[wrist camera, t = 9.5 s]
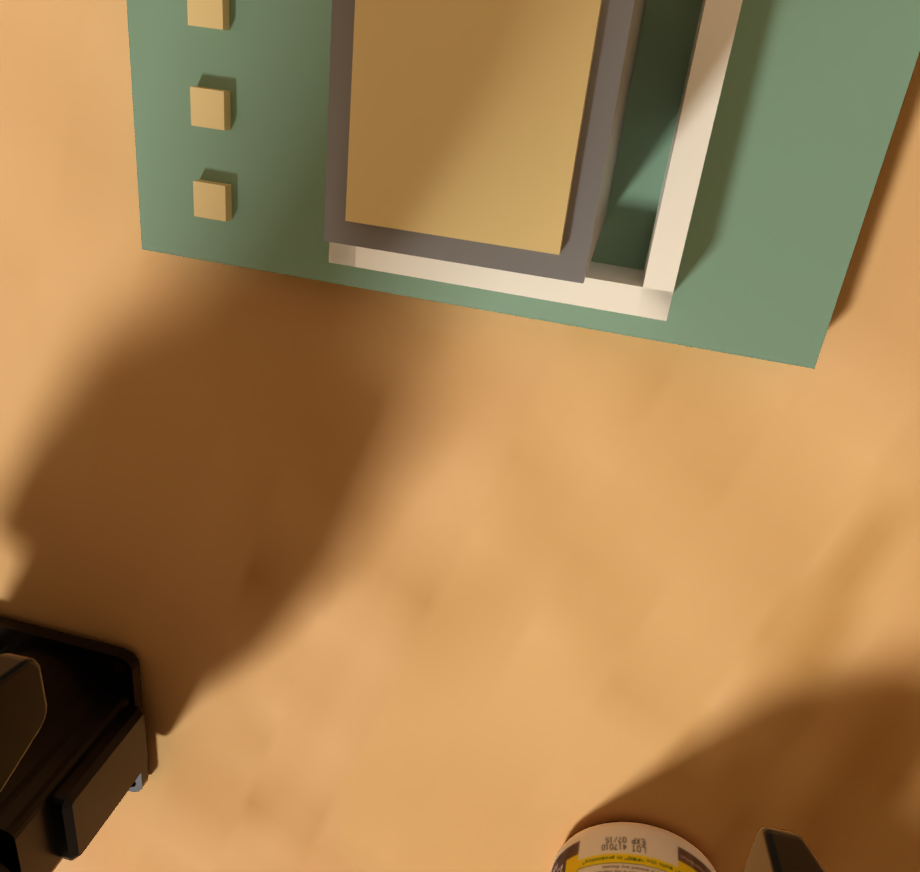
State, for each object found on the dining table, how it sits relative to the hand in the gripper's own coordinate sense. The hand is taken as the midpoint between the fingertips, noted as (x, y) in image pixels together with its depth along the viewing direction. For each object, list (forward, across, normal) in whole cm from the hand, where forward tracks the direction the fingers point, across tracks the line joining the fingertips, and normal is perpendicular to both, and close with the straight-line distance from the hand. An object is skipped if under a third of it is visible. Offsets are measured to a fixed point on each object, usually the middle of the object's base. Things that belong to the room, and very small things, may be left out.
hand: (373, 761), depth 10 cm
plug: (+11, 0, -7) cm, 13 cm away
